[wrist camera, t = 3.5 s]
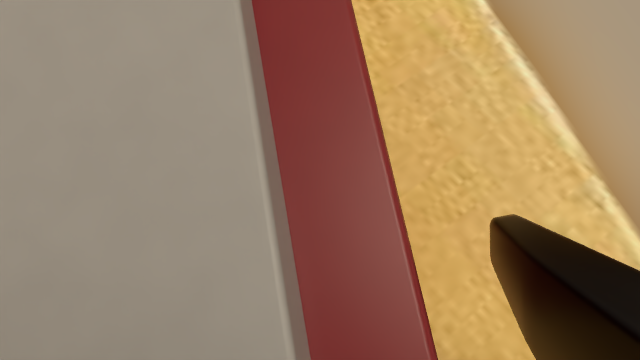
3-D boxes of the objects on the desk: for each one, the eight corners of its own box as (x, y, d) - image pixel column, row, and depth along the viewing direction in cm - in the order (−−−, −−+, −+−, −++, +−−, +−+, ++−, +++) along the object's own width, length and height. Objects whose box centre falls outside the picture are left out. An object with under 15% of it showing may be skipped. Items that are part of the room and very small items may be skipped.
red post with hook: (384, 338, 15) (491, 494, 3) (242, 364, 16) (-312, 632, 3) (339, 124, 18) (277, -351, 5) (216, 149, 18) (-153, -244, 5)
